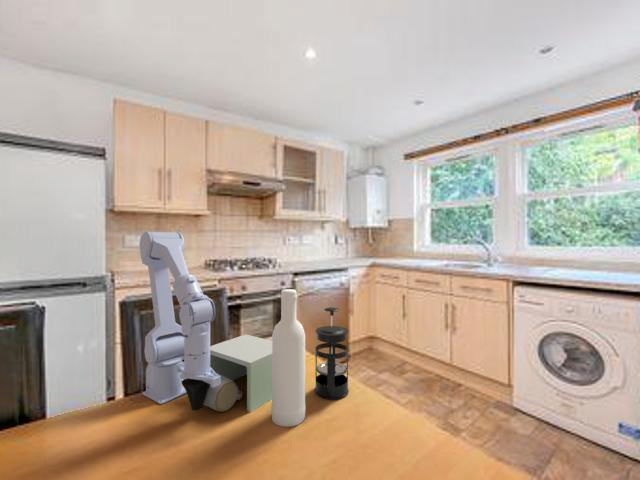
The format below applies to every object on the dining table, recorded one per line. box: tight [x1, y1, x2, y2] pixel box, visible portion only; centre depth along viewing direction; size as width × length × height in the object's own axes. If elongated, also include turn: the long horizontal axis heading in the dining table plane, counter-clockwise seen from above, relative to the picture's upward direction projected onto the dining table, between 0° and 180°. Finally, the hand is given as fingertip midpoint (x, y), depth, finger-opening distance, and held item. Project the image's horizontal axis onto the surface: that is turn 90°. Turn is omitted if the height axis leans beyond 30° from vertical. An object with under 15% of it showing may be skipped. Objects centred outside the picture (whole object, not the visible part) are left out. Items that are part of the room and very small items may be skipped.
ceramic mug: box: [203, 372, 243, 413], centre depth 79 cm, size 11×8×8 cm
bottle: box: [271, 288, 307, 428], centre depth 73 cm, size 8×8×30 cm
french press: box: [314, 306, 350, 401], centre depth 85 cm, size 12×9×23 cm
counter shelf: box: [210, 334, 272, 413], centre depth 86 cm, size 18×15×12 cm
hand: (197, 408), depth 73 cm, fingers closed
